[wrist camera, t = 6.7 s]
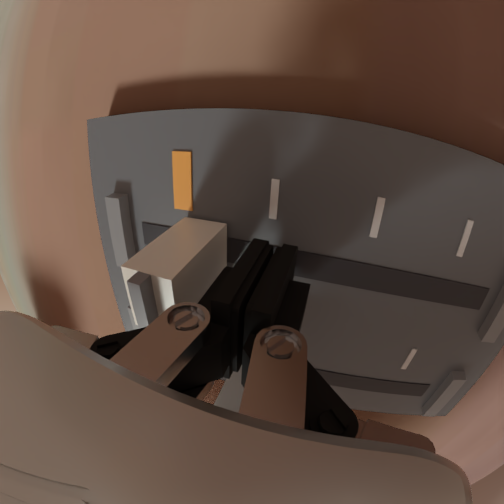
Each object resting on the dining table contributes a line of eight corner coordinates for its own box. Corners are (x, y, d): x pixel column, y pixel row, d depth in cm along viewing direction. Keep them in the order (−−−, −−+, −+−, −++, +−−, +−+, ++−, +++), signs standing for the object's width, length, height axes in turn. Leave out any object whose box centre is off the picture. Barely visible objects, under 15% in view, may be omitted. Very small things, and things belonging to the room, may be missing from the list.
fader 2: (273, 381, 16) (247, 451, 11) (241, 372, 16) (210, 439, 12) (277, 354, 14) (249, 433, 10) (242, 345, 15) (206, 419, 11)
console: (443, 398, 15) (446, 423, 13) (141, 332, 21) (125, 351, 19) (551, 188, 7) (575, 204, 5) (107, 116, 13) (77, 121, 11)
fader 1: (226, 276, 13) (172, 352, 9) (188, 267, 13) (126, 334, 9) (227, 223, 12) (160, 291, 7) (185, 216, 12) (109, 275, 8)
